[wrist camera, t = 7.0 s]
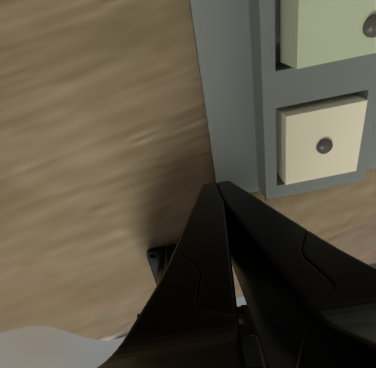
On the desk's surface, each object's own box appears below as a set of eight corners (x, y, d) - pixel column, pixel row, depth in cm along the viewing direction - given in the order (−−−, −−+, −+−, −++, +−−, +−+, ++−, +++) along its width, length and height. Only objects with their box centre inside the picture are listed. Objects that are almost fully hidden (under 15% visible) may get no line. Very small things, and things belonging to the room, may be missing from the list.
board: (384, 162, 24) (406, 177, 21) (217, 195, 24) (223, 213, 22) (516, -440, 10) (608, -556, 8) (137, -352, 11) (132, -443, 8)
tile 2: (365, 44, 16) (396, 49, 14) (280, 62, 16) (298, 69, 14) (382, -68, 14) (422, -82, 12) (280, -47, 14) (302, -57, 12)
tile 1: (338, 156, 22) (357, 172, 20) (274, 169, 22) (286, 186, 20) (346, 91, 19) (369, 101, 17) (273, 105, 19) (287, 117, 17)
